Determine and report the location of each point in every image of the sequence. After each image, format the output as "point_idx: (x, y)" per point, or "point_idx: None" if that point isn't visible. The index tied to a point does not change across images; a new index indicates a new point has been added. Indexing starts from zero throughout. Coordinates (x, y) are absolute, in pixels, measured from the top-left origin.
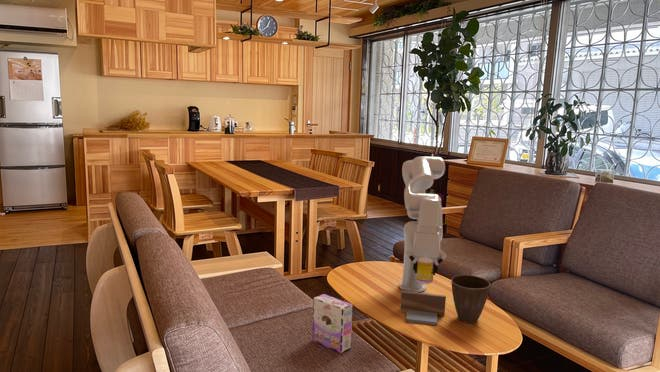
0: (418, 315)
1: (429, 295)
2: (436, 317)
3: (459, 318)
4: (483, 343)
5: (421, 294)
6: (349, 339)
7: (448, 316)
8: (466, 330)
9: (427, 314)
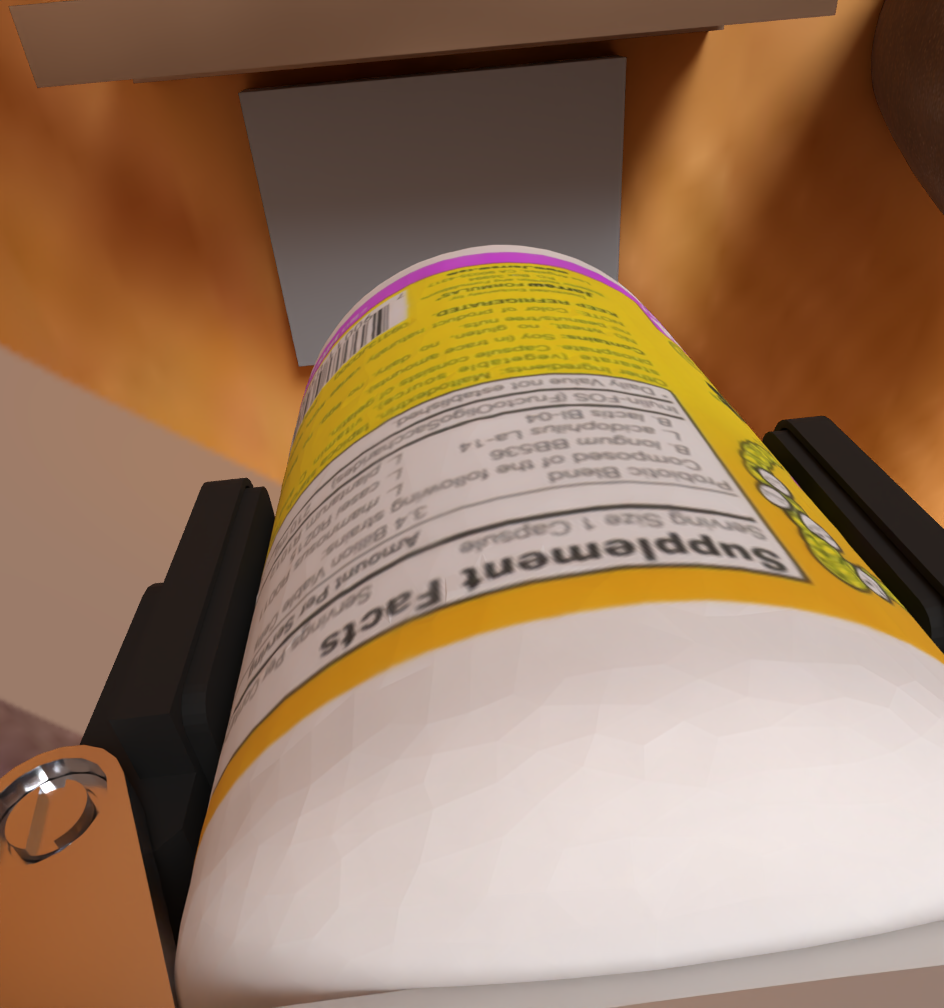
0: (407, 233)
1: (550, 38)
2: (611, 211)
3: (879, 105)
4: (939, 498)
5: (409, 52)
6: None
7: (758, 22)
8: (873, 328)
9: (507, 162)
